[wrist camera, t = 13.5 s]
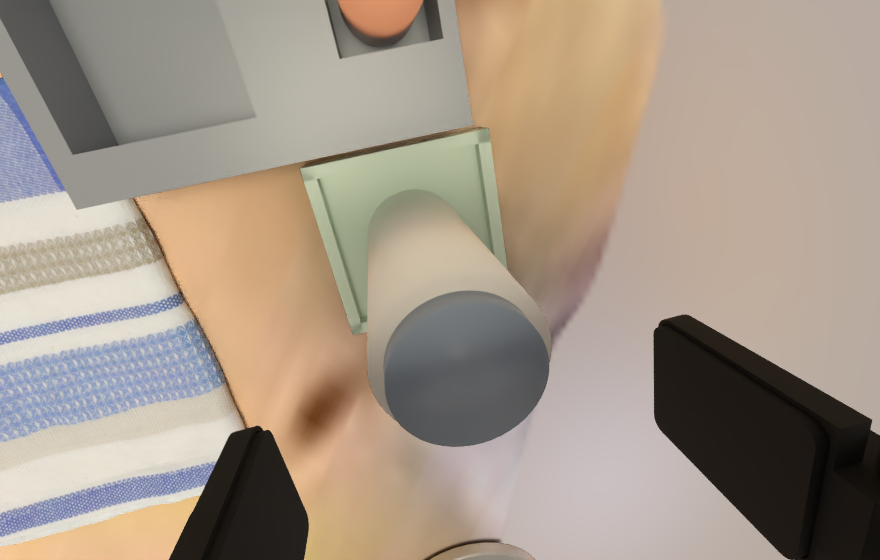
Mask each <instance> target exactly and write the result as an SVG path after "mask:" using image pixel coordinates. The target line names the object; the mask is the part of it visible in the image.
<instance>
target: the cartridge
mask: <svg viewBox="0 0 880 560" xmlns="http://www.w3.org/2000/svg"><path fill="white" fill-rule="evenodd" d="M550 357H551V335H550V329H549V326H548V323H547V320H546V318H545V316H544V314H543V312H542V311H541V309H540V308H539V306H538V305H537V304H536V302H535V301H534V300H533V299H532V298H531V297H530V295H529V294H528V293H527V292H526V291H525V290H524V289H523V288H522V286H521V285H520V284H519V283H518V282H517V281H516V280H515V279H514V277H513V276H512V275H511V274H510V273H509V272H508V271H507V270H506V268H505V267H504V266H503V265H502V264H501V263H500V262H499V261H498V259H497V258H496V257H495V256H494V255H493V254H492V253H491V252H490V250H489V249H488V248H487V247H486V246H485V245H484V244H483V243H482V241H481V240H480V239H479V238H478V237H477V236H476V235H475V234H474V232H473V231H472V230H471V229H470V228H469V227H468V226H467V224H466V223H465V222H464V221H463V220H462V219H461V218H460V217H459V215H458V214H457V213H456V212H455V211H454V210H453V209H452V208H451V206H450V205H449V204H448V203H447V202H446V201H445V200H444V199H442V198H441V197H439V196H438V195H436V194H434V193H431V192H429V191H425V190H419V189H410V190H404V191H401V192H398V193H395V194H393V195H391V196H390V197H388V198H387V199H385V200H384V201H383V202H382V203H381V204H380V205H379V206H378V207H377V209H376V210H375V212H374V214H373V216H372V218H371V220H370V224H369V228H368V299H367V373H368V379H369V383H370V387H371V389H372V392H373V394H374V396H375V398H376V400H377V401H378V403H379V404H380V406H381V407H382V408H383V409H384V410H385V412H386V413H387V414H389V415H390V416H391V417H392V418H393V419H394V420H396V421H397V422H398V423H399V424H400V425H401V426H402V427H403V428H404V429H405V430H406V431H408V432H409V433H411V434H412V435H414V436H415V437H417V438H419V439H421V440H423V441H426V442H429V443H432V444H437V445H441V446H451V447H457V446H470V445H475V444H480V443H483V442H486V441H489V440H492V439H494V438H497V437H499V436H501V435H503V434H505V433H506V432H508V431H510V430H511V429H513V428H514V427H515V426H517V425H518V424H519V423H520V422H522V421H523V420H524V419H525V418H526V417H527V416H528V415H529V414H530V413H531V411H532V410H533V409H534V407H535V406H536V405H537V403H538V402H539V400H540V398H541V396H542V394H543V392H544V390H545V387H546V384H547V380H548V374H549V362H550Z"/></svg>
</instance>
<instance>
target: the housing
mask: <svg viewBox="0 0 880 560" xmlns="http://www.w3.org/2000/svg"><path fill="white" fill-rule="evenodd" d="M0 73H1V75H2V77H3V78H4V80H5V82H6V84H7V86H8V87H9V89H10V91H11V93H12V95H13V96H14V98H15V100H16V102H17V104H18V105H19V107H20V109H21V111H22V112H23V114H24V116H25V118H26V120H27V121H28V123H29V125H30V127H31V129H32V130H33V132H34V134H35V136H36V138H37V139H38V141H39V143H40V145H41V147H42V148H43V150H44V152H45V154H46V156H47V157H48V159H49V161H50V163H51V165H52V166H53V168H54V170H55V172H56V174H57V175H58V177H59V179H60V181H61V183H62V184H63V186H64V188H65V190H66V192H67V193H68V195H69V197H70V199H71V201H72V202H73V204H74V206H75V208H76V210H79V209H83V208H88V207H93V206H98V205H102V204H107V203H112V202H116V201H121V200H126V199H130V198H135V197H140V196H144V195H149V194H154V193H158V192H163V191H168V190H172V189H177V188H182V187H186V186H191V185H196V184H200V183H205V182H210V181H215V180H219V179H224V178H229V177H233V176H238V175H243V174H247V173H252V172H257V171H261V170H266V169H271V168H275V167H280V166H285V165H289V164H294V163H299V162H303V161H308V160H313V159H317V158H322V157H327V156H332V155H336V154H341V153H346V152H350V151H355V150H360V149H364V148H369V147H374V146H378V145H383V144H388V143H392V142H397V141H402V140H406V139H411V138H416V137H420V136H425V135H430V134H434V133H439V132H444V131H449V130H453V129H458V128H463V127H467V126H472V125H473V123H472V116H471V109H470V103H469V96H468V89H467V82H466V76H465V69H464V62H463V55H462V48H461V42H460V35H459V28H458V21H457V15H456V8H455V1H454V0H424V1H423V3H422V5H421V7H420V9H419V11H418V13H417V15H416V17H415V19H414V21H413V24H412V26H411V28H410V29H409V31H408V32H407V34H406V35H405V36H404V37H403V38H402V39H401V40H399V41H398V42H396V43H394V44H391V45H388V46H373V45H370V44H367V43H365V42H363V41H361V40H360V39H358V38H357V37H356V36H355V35H354V34H353V33H352V32H351V31H350V30H349V29H348V27H347V26H346V24H345V22H344V20H343V18H342V16H341V12H340V9H339V6H338V2H337V0H0Z"/></svg>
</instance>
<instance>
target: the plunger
mask: <svg viewBox="0 0 880 560" xmlns="http://www.w3.org/2000/svg"><path fill="white" fill-rule="evenodd" d="M423 1H424V0H337V2H338V6H339V9H340V12H341V16H342V18H343V20H344V22H345V24H346V26H347V27H348V29H349V30H350V31H351V32H352V33H353V34H354V35H355V36H356V37H357V38H358V39H360V40H361V41H363V42H365V43H367V44H370V45H373V46H388V45H391V44H394V43H396V42H398V41H399V40H401V39H402V38H403V37H404V36H405V35H406V34H407V32H408V31H409V29H410V28H411V26H412V24H413V21H414V19H415V17H416V15H417V13H418V11H419V9H420V7H421V5H422V3H423Z"/></svg>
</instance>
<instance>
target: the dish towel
mask: <svg viewBox="0 0 880 560" xmlns="http://www.w3.org/2000/svg"><path fill="white" fill-rule="evenodd" d="M243 429H245V427H244V424H243V422H242V419H241V417H240V415H239V413H238V410H237V408H236V406H235V404H234V401H233V399H232V397H231V395H230V392H229V390H228V387H227V385H226V383H225V378H224V375H223V373H222V371H221V369H220V366H219V363H218V362H217V360H216V358H215V355H214V352H213V351H212V349H211V347H210V345H209V342H208V340H207V339H206V337H205V336H204V334H203V331H202V329H201V328H200V326H199V325H198V323H197V321H196V319H195V317H194V315H193V314H192V312H191V310H190V309H189V307H188V306H187V304H186V302H185V301H184V299H183V297H182V296H181V294H180V292H179V290H178V288H177V286H176V284H175V282H174V280H173V277H172V275H171V273H170V271H169V268H168V266H167V264H166V262H165V260H164V257H163V254H162V252H161V251H160V249H159V246H158V244H157V241H156V239H155V238H154V236H153V234H152V232H151V230H150V228H149V226H148V224H147V223H146V222H145V220H144V218H143V216H142V214H141V212H140V210H139V209H138V207H137V205H136V203H135V202H134V200H133V198H130V199H126V200H121V201H116V202H112V203H107V204H102V205H98V206H93V207H88V208H83V209H79V210H76V208H75V206H74V204H73V202H72V201H71V199H70V197H69V195H68V193H67V192H66V190H65V188H64V186H63V184H62V183H61V181H60V179H59V177H58V175H57V174H56V172H55V170H54V168H53V166H52V165H51V163H50V161H49V159H48V157H47V156H46V154H45V152H44V150H43V148H42V147H41V145H40V143H39V141H38V139H37V138H36V136H35V134H34V132H33V130H32V129H31V127H30V125H29V123H28V121H27V120H26V118H25V116H24V114H23V112H22V111H21V109H20V107H19V105H18V104H17V102H16V100H15V98H14V96H13V95H12V93H11V91H10V89H9V87H8V86H7V84H6V82H5V80H4V78H3V77H2V78H0V547H1V546H6V545H13V544H18V543H22V542H26V541H30V540H34V539H38V538H42V537H45V536H48V535H52V534H56V533H60V532H64V531H68V530H72V529H76V528H78V527H81V526H85V525H88V524H94V523H98V522H101V521H104V520H107V519H110V518H113V517H115V516H118V515H121V514H124V513H128V512H132V511H136V510H139V509H143V508H146V507H150V506H154V505H159V504H167V503H175V502H178V501H181V500H184V499H188V498H191V497H195V496H198V495H201V494H202V492H203V490H204V487H205V485H206V483H207V481H208V479H209V477H210V475H211V473H212V471H213V469H214V466H215V464H216V462H217V460H218V458H219V456H220V454H221V452H222V450H223V447H224V445H225V443H226V441H227V439H228V437H229V436H230V434H231V433H233V432H236V431H240V430H243Z"/></svg>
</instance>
